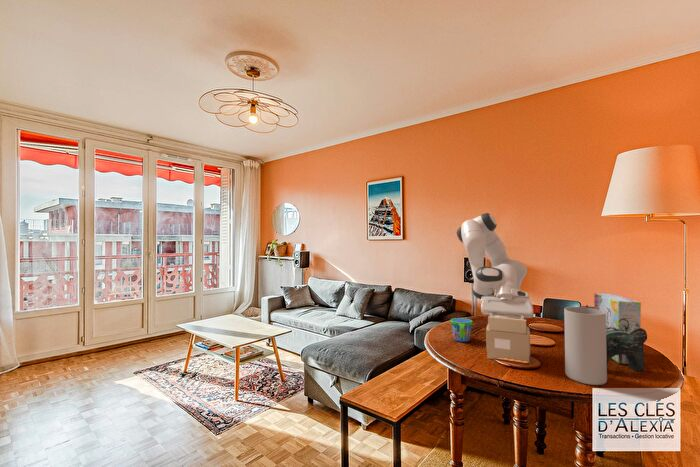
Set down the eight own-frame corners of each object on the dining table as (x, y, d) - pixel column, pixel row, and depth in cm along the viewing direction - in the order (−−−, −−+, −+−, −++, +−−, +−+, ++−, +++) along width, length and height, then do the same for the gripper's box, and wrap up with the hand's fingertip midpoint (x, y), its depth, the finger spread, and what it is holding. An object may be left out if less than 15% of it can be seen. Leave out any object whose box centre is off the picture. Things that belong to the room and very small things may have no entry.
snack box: (643, 366, 132) (642, 302, 133) (618, 364, 135) (617, 301, 135) (614, 348, 153) (613, 292, 154) (593, 347, 156) (592, 292, 156)
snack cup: (452, 334, 177) (452, 315, 177) (473, 336, 173) (473, 317, 173) (449, 343, 163) (449, 323, 163) (472, 346, 159) (471, 325, 159)
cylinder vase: (593, 388, 114) (591, 316, 114) (557, 375, 125) (556, 308, 125) (614, 382, 119) (613, 312, 119) (578, 369, 130) (577, 305, 130)
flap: (488, 316, 138) (488, 317, 138) (526, 319, 132) (526, 320, 131) (489, 328, 143) (489, 329, 143) (526, 332, 137) (526, 333, 136)
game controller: (638, 366, 132) (637, 316, 132) (653, 373, 126) (652, 320, 126) (589, 367, 132) (588, 317, 132) (601, 374, 125) (600, 321, 125)
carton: (488, 347, 157) (488, 322, 157) (529, 352, 149) (528, 326, 149) (486, 358, 143) (485, 330, 143) (530, 364, 135) (530, 335, 136)
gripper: (480, 290, 149) (479, 317, 140) (532, 293, 139) (534, 322, 131) (481, 298, 153) (480, 325, 144) (532, 301, 143) (534, 330, 135)
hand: (506, 324), depth 137 cm, fingers open, 8 cm apart
